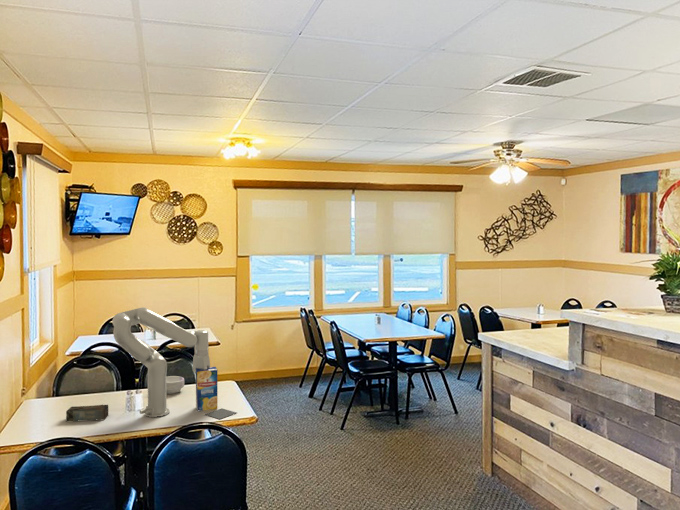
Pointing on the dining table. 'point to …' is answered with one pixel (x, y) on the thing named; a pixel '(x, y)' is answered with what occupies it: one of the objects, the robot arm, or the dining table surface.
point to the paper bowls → (174, 384)
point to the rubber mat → (220, 413)
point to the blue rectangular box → (206, 388)
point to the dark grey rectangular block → (87, 412)
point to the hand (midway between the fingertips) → (202, 385)
